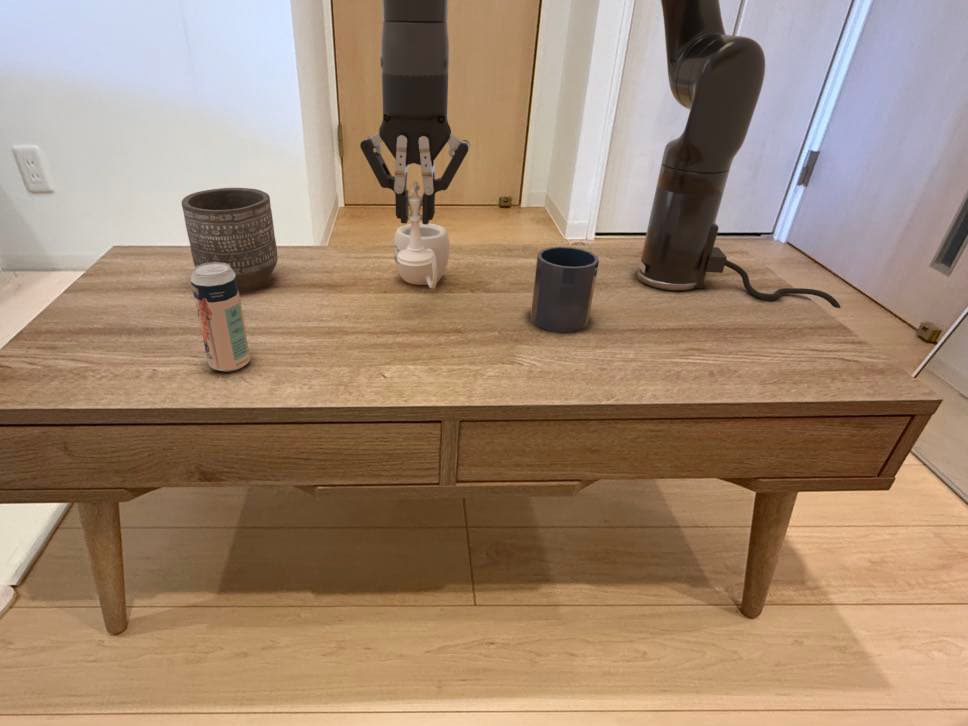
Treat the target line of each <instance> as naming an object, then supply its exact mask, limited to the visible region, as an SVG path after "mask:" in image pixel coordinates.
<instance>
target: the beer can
mask: <svg viewBox="0 0 968 726" xmlns="http://www.w3.org/2000/svg"><path fill="white" fill-rule="evenodd" d="M189 280H190V284H191V285H190V286H191V289H192V294H193V300H194V303H195V308H196V313H197V317H198V321H199V326H200V331H201V336H202V340H203V345H204V349H205V353H206V359H207V362H208V363H207V364H208V366H209V367H210V368H212V369H213V370H216V371H219V372H226V373H227V372H234V371H238V370H240V369H242V368H243V367H245V366H246V365H247V364H249V363H250V360H251V355H250V350H249V344H248V337H247V332H246V326H245V320H244V314H243V310H242V309H243V308H242V303H241V302H242V301H241V297H240V293H239V291H238V285H237V279H236V274H235V272H234V271H233V270H232V269H231V267H230V266H229V265H228V264H226V263H220V262H211V263H204V264H201V265H199V266H196V267H195V266H194V268H193V269H192V273H191V276H190V279H189Z"/></svg>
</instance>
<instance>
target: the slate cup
mask: <svg viewBox="0 0 968 726" xmlns="http://www.w3.org/2000/svg"><path fill="white" fill-rule="evenodd" d="M599 263H600V260H599V257H598V255H596V254H595V253H593V252H592V251H589V250H586V249H583V248H579V247H574V246H573V247H572V246H552V247H547V248H543V249H541V250H539V252H537V255H536V262H535V271H534V280H533V289H532V297H531V306H530V321H531V323H533V324H534V325H535V326H537V327H538V328H541V329H543V330H546V331H550V332H553V333H554V332H555V333H574V332H579V331H581V330H584V329H585V328H586V327H587V326H588V323H589V321H590V315H591V309H592V303H593V298H594V292H595V286H596V281H597V275H598V270H599Z"/></svg>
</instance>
